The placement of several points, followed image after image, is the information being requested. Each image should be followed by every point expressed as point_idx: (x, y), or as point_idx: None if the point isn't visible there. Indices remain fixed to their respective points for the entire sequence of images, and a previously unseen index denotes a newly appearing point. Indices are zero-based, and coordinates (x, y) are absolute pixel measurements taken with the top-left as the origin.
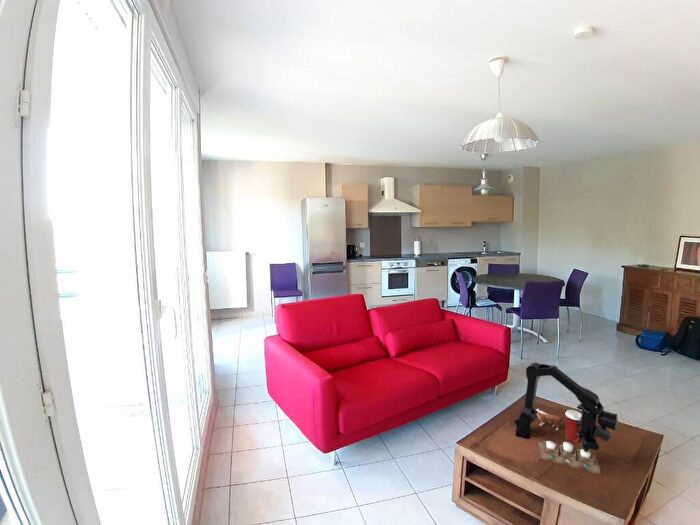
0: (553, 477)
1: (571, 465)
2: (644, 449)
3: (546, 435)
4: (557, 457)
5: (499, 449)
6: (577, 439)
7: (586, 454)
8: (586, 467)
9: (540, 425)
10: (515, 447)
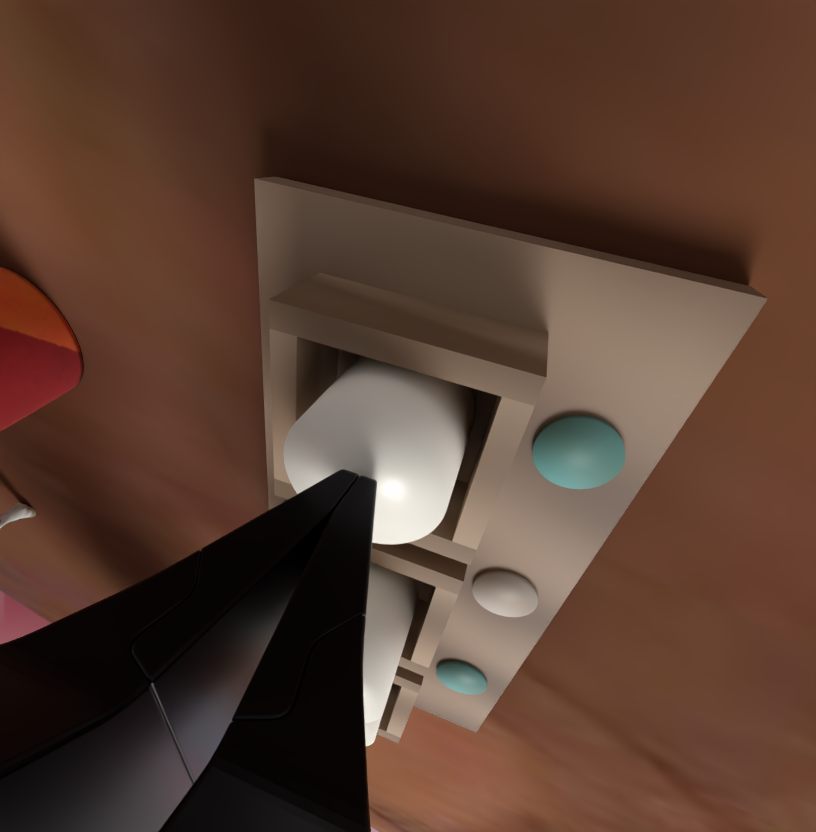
0: (743, 764)
1: (566, 591)
2: None
3: (135, 530)
4: (456, 642)
5: (436, 805)
6: (10, 310)
7: (446, 508)
8: (614, 474)
9: (31, 515)
10: (388, 747)
